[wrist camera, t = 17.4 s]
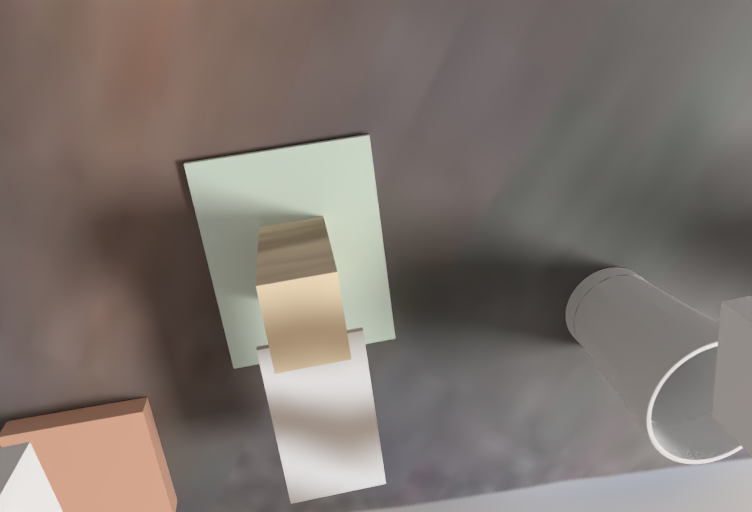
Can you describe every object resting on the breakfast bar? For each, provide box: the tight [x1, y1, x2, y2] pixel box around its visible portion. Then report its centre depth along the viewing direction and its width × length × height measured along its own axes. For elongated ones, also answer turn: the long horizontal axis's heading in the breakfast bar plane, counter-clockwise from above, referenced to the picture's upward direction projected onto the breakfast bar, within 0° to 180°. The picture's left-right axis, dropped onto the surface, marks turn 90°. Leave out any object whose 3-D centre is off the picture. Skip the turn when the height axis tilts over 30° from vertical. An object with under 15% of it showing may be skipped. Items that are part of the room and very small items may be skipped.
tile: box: [0, 397, 177, 512], centre depth 43 cm, size 2×9×9 cm
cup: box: [566, 267, 743, 464], centre depth 40 cm, size 8×8×12 cm
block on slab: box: [256, 216, 386, 504], centre depth 38 cm, size 16×6×9 cm, turn 7°
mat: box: [184, 134, 395, 369], centre depth 40 cm, size 14×11×1 cm
